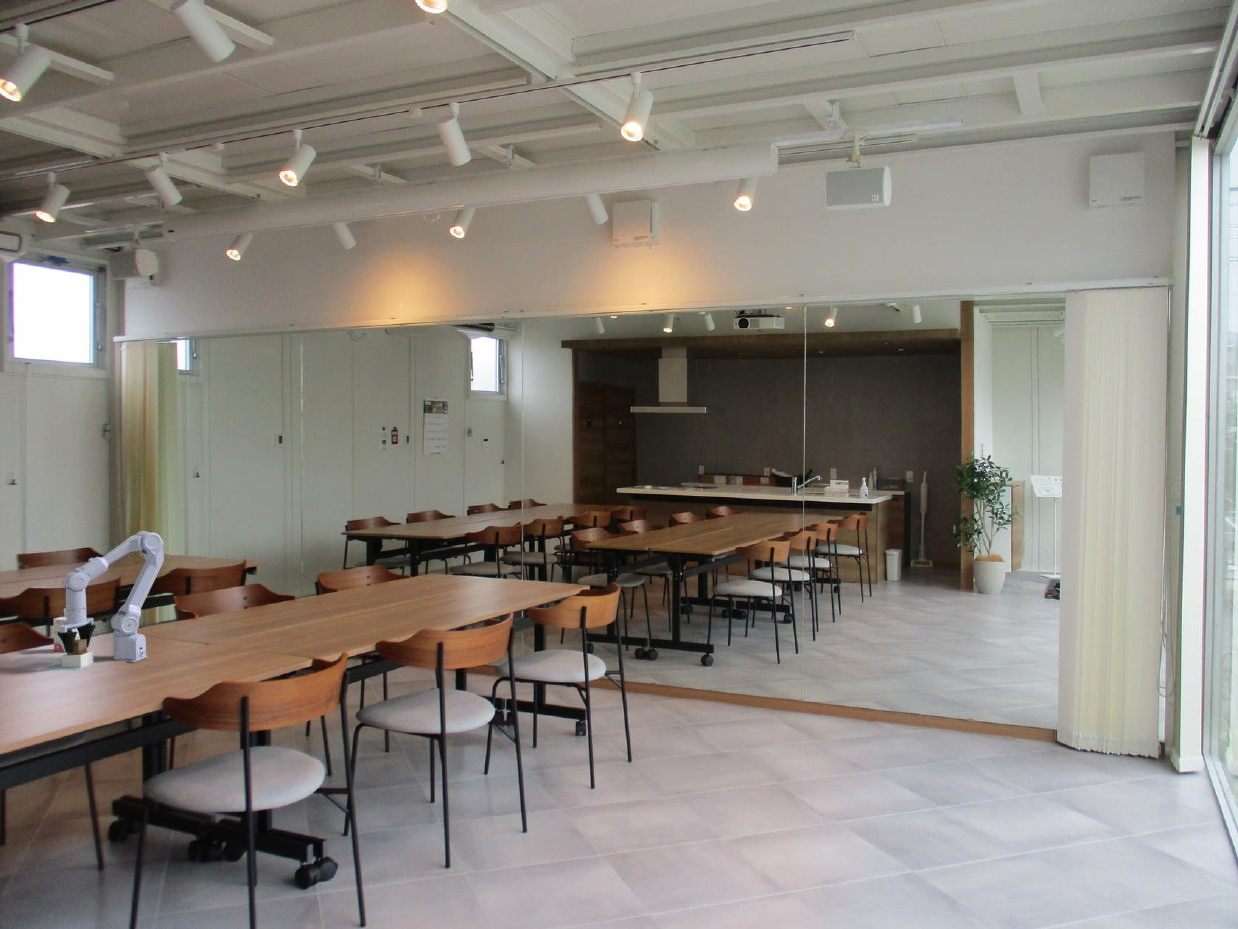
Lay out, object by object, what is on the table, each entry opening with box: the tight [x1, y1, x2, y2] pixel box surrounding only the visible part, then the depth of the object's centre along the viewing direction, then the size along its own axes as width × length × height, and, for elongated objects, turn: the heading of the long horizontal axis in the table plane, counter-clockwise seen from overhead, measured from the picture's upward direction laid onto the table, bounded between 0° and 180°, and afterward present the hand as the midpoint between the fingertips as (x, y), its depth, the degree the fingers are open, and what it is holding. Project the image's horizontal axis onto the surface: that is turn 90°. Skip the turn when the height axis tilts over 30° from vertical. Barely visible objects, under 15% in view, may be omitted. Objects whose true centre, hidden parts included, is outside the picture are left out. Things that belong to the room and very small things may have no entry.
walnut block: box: [66, 639, 88, 655], centre depth 306 cm, size 4×4×5 cm
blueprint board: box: [34, 650, 98, 672], centre depth 304 cm, size 14×11×5 cm
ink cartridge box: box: [53, 607, 80, 653], centre depth 332 cm, size 9×5×15 cm, turn 74°
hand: (77, 650), depth 306 cm, fingers open, 7 cm apart
